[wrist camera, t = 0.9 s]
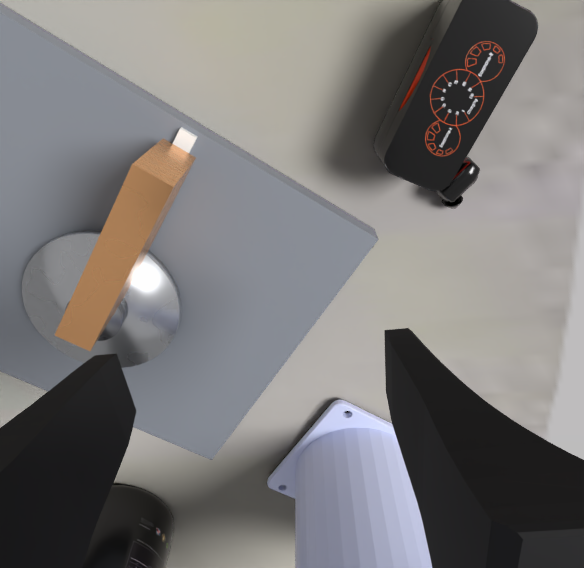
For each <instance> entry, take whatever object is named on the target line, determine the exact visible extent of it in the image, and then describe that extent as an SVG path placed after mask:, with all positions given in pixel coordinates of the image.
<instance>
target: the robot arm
mask: <svg viewBox="0 0 584 568" xmlns="http://www.w3.org/2000/svg"><path fill="white" fill-rule="evenodd" d="M385 367H386V394H387V399H388V404H389V410H390V415H391V420H392V424H391V423H389V422H387V421H385V420H383V419H381V418H379V417H377V416H375V415H373V414H371V413H369V412H367V411H365V410H363V409H361V408H359V407H357V406H355V405H353V404H350V403H348V402H346V401H344V400H336V401H334V402H333V403H332V404H331V405H330V406H329V407H328V408H327V410H326V411H325V412H324V413H323V414H322V415H321V417H320V418H319V419H318V420H317V421H316V422H315V424H314V425H313V426H312V427H311V428H310V429H309V431H308V432H307V433H306V434H305V435H304V436H303V438H302V439H301V440H300V441H299V442H298V443H297V445H296V446H295V447H294V448H293V449H292V450H291V452H290V453H289V454H288V455H287V456H286V457H285V459H284V460H283V461H282V462H281V463H280V464H279V466H278V467H277V468H276V469H275V470H274V471H273V473H272V474H271V475H270V476H269V477H268V481H267V485H268V487H269V488H271V489H273V490H275V491H277V492H280V493H282V494H285V495H287V496H289V497H292V498H294V499H295V568H584V460H583V459H580V458H578V457H576V456H574V455H572V454H570V453H568V452H566V451H565V450H563V449H561V448H559V447H557V446H555V445H553V444H551V443H550V442H548V441H546V440H544V439H543V438H541V437H539V436H538V435H536V434H534V433H532V432H531V431H529V430H527V429H526V428H524V427H522V426H521V425H519V424H518V423H516V422H514V421H513V420H511V419H510V418H508V417H507V416H506V415H504V414H503V413H501V412H500V411H498V410H497V409H496V408H494V407H493V406H491V405H490V404H488V403H487V402H486V401H485V400H483V399H482V398H481V397H480V396H478V395H477V394H476V393H475V392H473V391H472V390H471V389H470V388H469V387H467V386H466V385H465V384H464V383H463V382H462V381H461V380H459V379H458V378H457V377H456V376H455V375H454V374H453V373H452V372H451V371H450V370H449V369H448V368H447V367H446V366H444V365H443V364H442V363H441V362H440V361H439V360H438V359H437V358H436V357H435V356H434V355H433V354H432V353H431V352H430V350H429V349H428V348H427V347H426V346H425V345H424V344H423V343H422V342H421V341H420V340H419V339H418V338H417V336H416V335H415V334H414V333H413V332H412V331H411V330H410V329H408V328H406V329H394V330H385ZM345 411H350V412H349V413H344V412H345ZM135 416H136V408H135V405H134V402H133V399H132V396H131V393H130V391H129V388H128V385H127V382H126V379H125V376H124V373H123V370H122V367H121V365H120V362H119V359H118V356H117V354H105V355H95V356H93V357H92V358H90V359H89V360H87V361H86V362H85V363H83V364H82V365H81V366H80V367H78V368H77V369H76V370H74V371H73V372H72V373H71V374H69V375H68V376H67V377H66V378H64V379H63V380H62V381H61V382H59V383H58V384H57V385H56V386H54V387H53V388H52V389H51V390H49V391H48V392H47V393H46V394H44V395H43V396H42V397H41V398H39V399H38V400H37V401H36V402H34V403H33V404H32V405H31V406H29V407H28V408H27V409H25V410H24V411H23V412H21V413H20V414H18V415H17V416H16V417H14V418H13V419H12V420H10V421H9V422H8V423H6V424H5V425H4V426H2V427H1V428H0V568H83V564H84V561H85V557H86V554H87V551H88V547H89V544H90V541H91V538H92V535H93V532H94V529H95V527H96V524H97V521H98V519H99V516H100V514H101V511H102V509H103V506H104V504H105V502H106V499H107V497H108V494H109V492H110V489H111V487H112V484H113V482H114V480H115V477H116V475H117V472H118V470H119V467H120V465H121V462H122V460H123V457H124V455H125V452H126V449H127V447H128V444H129V440H130V436H131V432H132V429H133V424H134V420H135Z"/></svg>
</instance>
